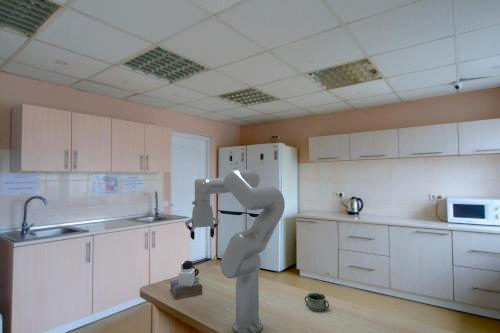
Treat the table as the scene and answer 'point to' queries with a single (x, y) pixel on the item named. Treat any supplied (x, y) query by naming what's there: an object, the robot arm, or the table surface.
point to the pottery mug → (195, 271)
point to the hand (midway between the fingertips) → (202, 238)
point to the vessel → (316, 301)
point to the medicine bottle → (186, 274)
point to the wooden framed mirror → (185, 290)
